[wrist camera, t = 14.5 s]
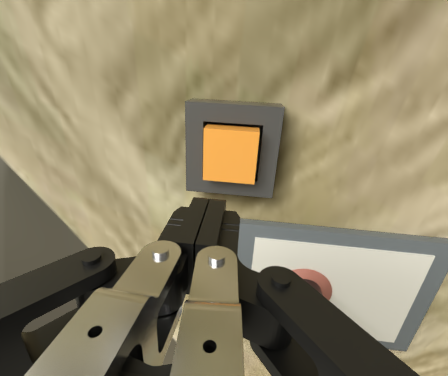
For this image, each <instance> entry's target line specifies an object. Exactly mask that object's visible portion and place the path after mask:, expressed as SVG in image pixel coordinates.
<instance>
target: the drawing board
mask: <svg viewBox="0 0 448 376" xmlns="http://www.w3.org/2000/svg"><path fill="white" fill-rule="evenodd" d="M238 258H239V260H240V262H241V263H242V264H243V265H244V266H246V267H247V268H249V269H251V270H254V271H257V272H259V273H260V272H261V270H263V269H264V268H266V267H270V266H281V267H285V268H288V269H290V270H292V271H294V272H295V273H296V274H298V275H299V276H300V277H301V278H302V279H308V280H312V281H314V282H316V283H317V284H318V285H319V286H320V288H321V291H322V295H323V296H324V297H325V298H326V299H328V300H329V301H330V302H331V303H333V304H334V305H335V306H336V307H337V308H339V309H340V310H341V311H342V312H343V313H345V314H346V315H347V316H348V317H349V318H351V319H352V320H353V321H354V322H355V323H357V324H358V325H359V326H360V327H361V328H363V329H364V330H365V331H366V332H367V333H369V334H370V335H371V336H372V337H373V338H375V339H376V340H377V341H378V342H380V343H381V344H382V345H383V346H384V347H386V348H387V349H391V350H399V351H407V349H408V347H409V345H410V343H411V341H412V339H413V337H414V335H415V334H416V332H417V330H418V328H419V326H420V324H421V322H422V320H423V318H424V316H425V314H426V312H427V310H428V309H429V307H430V305H431V303H432V301H433V299H434V297H435V295H436V293H437V291H438V289H439V287H440V286H441V284H442V282H443V280H444V278H445V276H446V274H447V272H448V239H447V238H437V237H426V236H416V235H406V234H395V233H385V232H375V231H364V230H354V229H344V228H333V227H323V226H313V225H302V224H292V223H282V222H271V221H261V220H251V219H240V227H239V240H238Z"/></svg>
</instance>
